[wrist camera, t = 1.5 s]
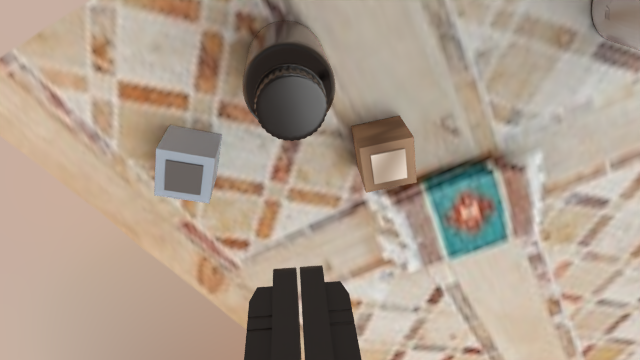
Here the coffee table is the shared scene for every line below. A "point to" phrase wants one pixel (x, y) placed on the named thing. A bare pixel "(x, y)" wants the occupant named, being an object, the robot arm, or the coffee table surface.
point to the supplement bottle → (288, 81)
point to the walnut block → (384, 153)
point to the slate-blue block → (187, 164)
